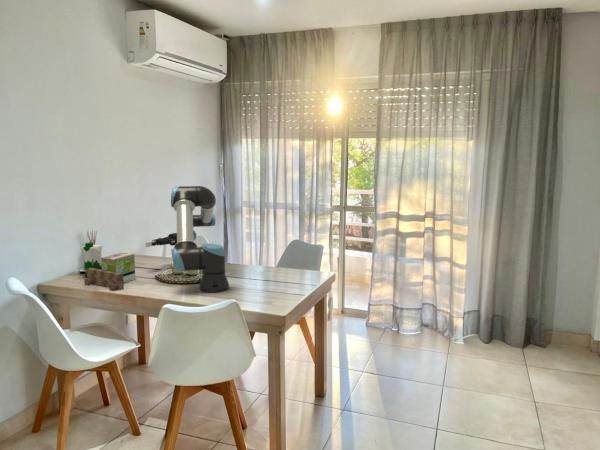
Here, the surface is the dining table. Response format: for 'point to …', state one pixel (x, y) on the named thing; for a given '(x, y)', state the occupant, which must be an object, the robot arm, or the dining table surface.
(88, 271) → the brown bumpy block
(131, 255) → the tea box
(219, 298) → the dining table surface
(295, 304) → the dining table surface
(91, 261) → the milk carton
